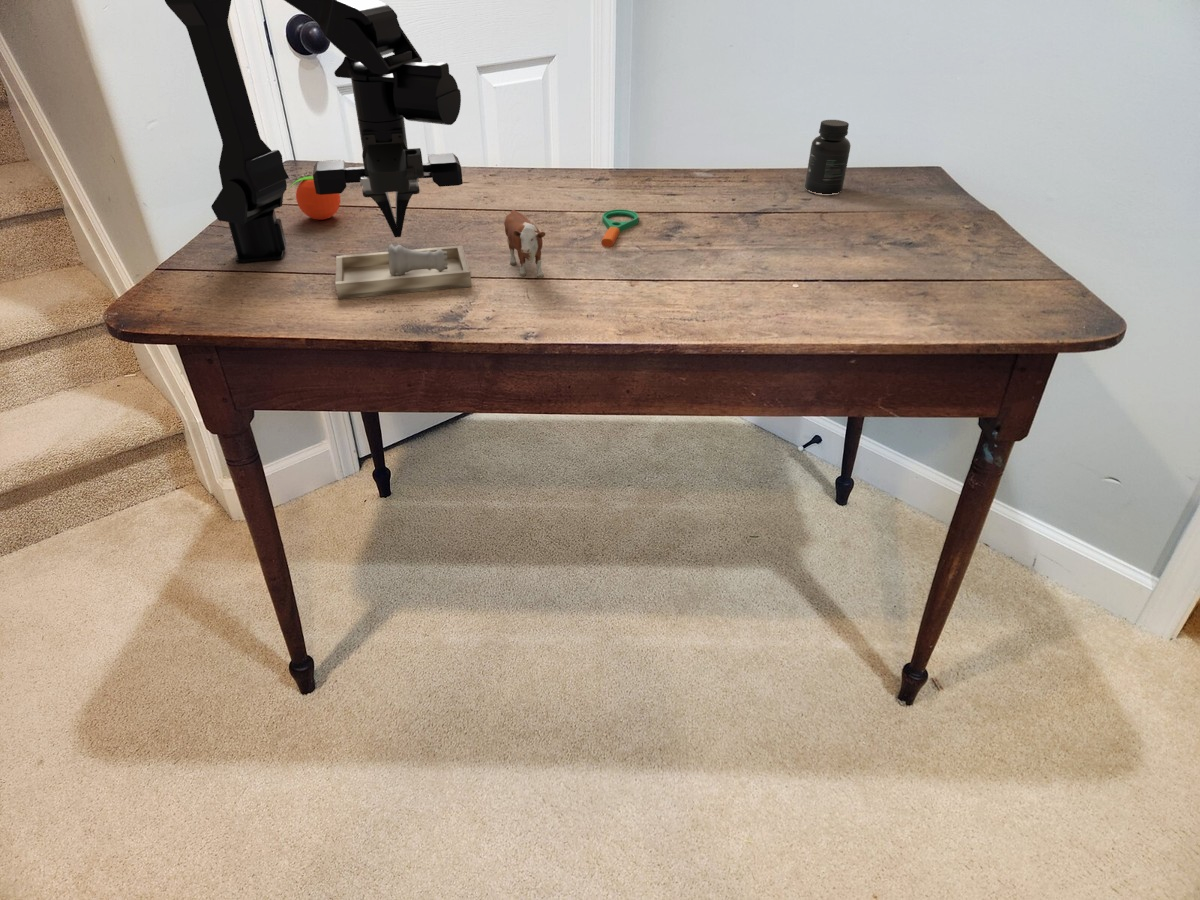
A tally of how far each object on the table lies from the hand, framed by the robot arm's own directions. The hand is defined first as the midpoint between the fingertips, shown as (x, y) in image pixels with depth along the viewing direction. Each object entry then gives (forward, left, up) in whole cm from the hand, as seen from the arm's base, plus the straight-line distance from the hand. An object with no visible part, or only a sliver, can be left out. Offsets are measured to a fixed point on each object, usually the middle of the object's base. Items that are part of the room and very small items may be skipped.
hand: (397, 236), depth 109 cm
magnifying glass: (+35, +12, -7) cm, 37 cm away
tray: (0, 0, -6) cm, 6 cm away
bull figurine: (+18, -1, -6) cm, 19 cm away
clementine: (-12, +28, -6) cm, 31 cm away
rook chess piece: (-2, 0, -3) cm, 4 cm away
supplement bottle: (+78, +23, -6) cm, 81 cm away
